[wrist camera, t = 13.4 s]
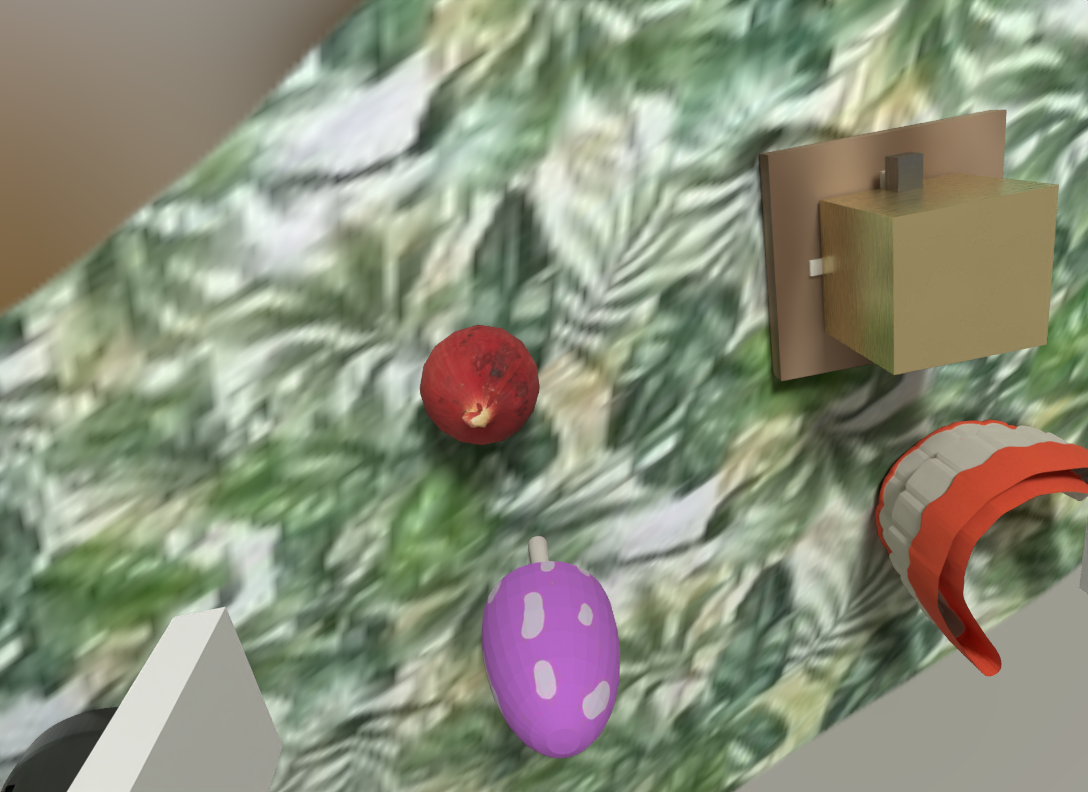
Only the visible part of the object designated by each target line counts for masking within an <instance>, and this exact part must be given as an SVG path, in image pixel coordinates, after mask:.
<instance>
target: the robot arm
mask: <svg viewBox="0 0 1088 792" xmlns="http://www.w3.org/2000/svg"><path fill="white" fill-rule="evenodd" d="M1080 588H1081V589H1082V590H1084V591H1085V592H1086V593H1087V594H1088V518H1087V527H1086V536H1085V544H1084V553H1083V561H1082V570H1081V579H1080ZM282 747H283V746H282V743H281V741H280V738H279V736H278V734H277V731H276V729H275V726H274V724H273V721H272V719H271V716H270V714H269V712H268V709H267V707H266V704H265V702H264V699H263V697H262V694H261V692H260V690H259V687H258V685H257V682H256V680H255V677H254V675H253V672H252V670H251V668H250V665H249V663H248V660H247V658H246V655H245V653H244V650H243V648H242V646H241V643H240V641H239V638H238V636H237V633H236V631H235V628H234V626H233V624H232V621H231V619H230V616H229V614H228V611H227V609H226V607H222V608H217V609H212V610H207V611H202V612H197V613H192V614H187V615H182V616H177V617H174V618H173V619H172V621H171V623H170V624H169V626H168V628H167V629H166V631H165V632H164V634H163V636H162V637H161V639H160V641H159V642H158V644H157V645H156V647H155V649H154V650H153V652H152V654H151V655H150V657H149V659H148V660H147V662H146V663H145V665H144V667H143V668H142V670H141V672H140V673H139V675H138V677H137V678H136V680H135V681H134V683H133V685H132V686H131V688H130V690H129V691H128V693H127V695H126V696H125V698H124V699H123V701H122V703H121V704H120V706H119V707H114V708H104V709H98V710H93V711H89V712H85V713H81V714H78V715H75V716H73V717H70V718H68V719H65V720H63V721H61V722H59V723H57V724H56V725H54V726H52V727H51V728H49V729H48V730H46V731H45V732H44V733H43V734H41V735H40V736H39V737H38V738H37V739H36V740H35V741H34V742H33V743H32V744H31V746H30V747H29V748H28V750H27V751H26V752H25V754H24V755H23V757H22V758H21V759H20V761H19V762H18V764H17V765H16V767H15V768H14V769H13V771H12V772H11V774H10V775H9V777H8V778H7V780H6V782H5V784H4V786H3V788H2V790H1V792H269V789H270V785H271V782H272V779H273V776H274V773H275V769H276V766H277V763H278V760H279V757H280V754H281V750H282Z"/></svg>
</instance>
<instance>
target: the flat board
mask: <svg viewBox="0 0 1088 792" xmlns="http://www.w3.org/2000/svg"><path fill="white" fill-rule="evenodd" d="M1006 111H1007V110H989V111H983V112H978V113H973V114H967V115H962V116H957V117H952V118H946V119H941V120H936V121H931V122H925V123H920V124H915V125H910V126H904V127H899V128H894V129H889V130H883V131H878V132H873V133H868V134H862V135H857V136H852V137H847V138H841V139H836V140H831V141H826V142H820V143H815V144H810V145H804V146H799V147H794V148H789V149H783V150H778V151H773V152H768V153H762V154H759V155H760V171H761V187H762V203H763V219H764V235H765V251H766V267H767V283H768V299H769V315H770V331H771V347H772V363H773V374H774V375H775V376H776V377H777V378H778V379H779V380H781V381H785V380H790V379H795V378H800V377H806V376H811V375H816V374H821V373H826V372H831V371H836V370H842V369H847V368H852V367H857V366H862V365H867V364H872V363H874V362H872V361H871V360H869V359H867V358H866V357H864V356H863V355H861V354H859V353H858V352H856V351H854V350H853V349H851V348H850V347H848V346H846V345H845V344H843V343H842V342H840V341H838V340H837V339H835V338H834V337H832V336H830V335H829V334H827V333H826V332H825V320H824V296H823V272H822V249H821V225H820V201H819V200H822V199H827V198H832V197H837V196H842V195H847V194H852V193H857V192H862V191H867V190H872V189H877V188H882V187H885V156H890V155H895V154H900V153H905V152H918V153H923V179H927V178H932V177H937V176H942V175H947V174H952V173H962V174H970V175H979V176H988V177H996V178H1003V165H1004V147H1005V129H1006Z"/></svg>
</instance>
